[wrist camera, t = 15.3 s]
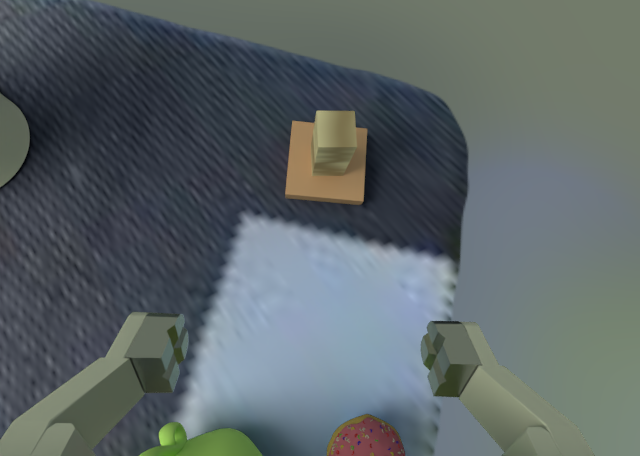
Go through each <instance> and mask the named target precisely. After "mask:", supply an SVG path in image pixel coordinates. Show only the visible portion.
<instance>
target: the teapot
mask: <svg viewBox="0 0 640 456" xmlns="http://www.w3.org/2000/svg"><path fill="white" fill-rule="evenodd" d="M159 440H160V443H161V446H158V447H154V448H151V449H149V450H147V451H145V452H143V453H142V454H140V455H139V456H263V455H262V454H261V453H260V451H259V450H258V448H257V447H256V446H255V445H254V443H253V442H252V441H251V440H250V439H249V438H248V437H247V436H246V435H245V434H243V433H242V432H240V431H238V430H235V429H231V428H224V429H218V430H215V431H211V432H208V433H205V434H202V435H200V436H197V437H194V438H192V439H189V440H187V436H186V432H185V430H184V428H183V426H182V425H181V424H180V423H178V422H172V423H168V424H166V425H165V426H164V427H162V429H161V430H160V432H159Z"/></svg>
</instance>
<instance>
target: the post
mask: <svg viewBox="0 0 640 456" xmlns="http://www.w3.org/2000/svg"><path fill="white" fill-rule="evenodd" d="M356 148H357V139H356V124H355V111H316V117H315V123H314V129H313V136H312V142H311V166H312V176H343V174H344V172H345V170H346V168H347V166H348V164H349V162H350V160H351V158H352V156H353V154H354V152H355V150H356Z"/></svg>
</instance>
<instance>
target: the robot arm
mask: <svg viewBox="0 0 640 456" xmlns="http://www.w3.org/2000/svg"><path fill="white" fill-rule="evenodd" d="M29 142H30V133H29V127H28V124H27V121H26V119H25V117H24V115H23V113H22V112H21V111H20V109H19V108H18V107H17V106H16V105H15V104H14V103H13V102H11V101H10V100H8V99H7V98H6V97H4V96H3V95H2V94H1V93H0V187H1V186H3V185H4V184H5V183H7V182H8V181H9V180H10V179H11V178H12V177H13V176H14V175H15V174H16V173H17V171H18V170H19V169H20V167H21V166H22V164H23V162H24V160H25V158H26V155H27V152H28V148H29ZM184 322H185V320H184V316H183V314H167V313H148V312H132V313H131V314H130V315H129V316H128V318H127V320H126V321H125V323H124V325H123V327H122V328H121V330H120V332H119V334H118V336H117V337H116V339H115V341H114V343H113V345H112V346H111V348H110V350H109V352H108V353H107V355H106V357H105V358H99V359H98V360H96V361H95V362H94V363H92V364H91V365H89V366H88V367H87V368H85V369H84V370H83V371H81V372H80V373H78V374H77V375H76V376H74V377H73V378H72V379H70V380H69V381H68V382H66V383H65V384H63V385H62V386H61V387H59V388H58V389H57V390H55V391H54V392H52V393H51V394H50V395H48V396H47V397H46V398H44V399H43V400H42V401H40V402H39V403H37V404H36V405H35V406H33V407H32V408H31V409H29V410H28V411H26V412H25V413H24V414H22V415H21V416H20V417H18V418H17V419H16V420H14V421H13V422H12V424H11V425H10V427H9V428H8V430H7V431H6V432H5V434H4V435H3V437H2V438H1V440H0V456H96V455H95V453H94V452H93V451H92V449H93V448H94V447H95V446H96V445H97V444H98V443H99V442H100V441H101V439H102V438H103V437H104V436H105V435H106V434H107V433H108V432H109V431H110V430H111V429H112V428H113V427H114V426H115V425H116V424H117V423H118V422H119V421H120V420H121V419H122V418H123V417H124V416H125V414H126V413H127V412H128V411H129V410H130V409H131V408H132V407H133V406H134V405H135V404H136V403H137V402H138V401H139V400H140V399H141V398H142V397H143V396H144V393H170V392H173V391H174V388H175V385H176V382H177V379H178V376H179V373H180V371H179V368H178V364H179V363H181V362H182V361H183V360H184V358H185V355H186V352H187V347H188V332H187V330H186V329H185V328H184V327H183V325H184ZM427 331H428V333H427V334H426V335H424V336H423V338H422V341H421V356H422V360H423V364H424V365H425V366H426V367H427V368H428V369H429V370H430V372H429V374H428V380H429V383H430V386H431V389H432V393H433V396H442V397H459V400H460V401H461V402H462V403H463V404H464V405H465V406H466V408H467V409H468V410H469V411H470V412H471V413H472V415H473V416H474V417H475V418H476V419H477V420H478V422H479V423H480V424H481V425H482V426H483V428H484V429H485V430H486V431H487V432H488V433H489V435H490V436H491V437H492V438H493V439H494V440H495V442H496V443H497V444H498V445H499V446H500V447H501V449H502V450H503V451H504V452H505V453H504V454H503V455H502V456H595V455H594V454H593V452H592V450H591V449H590V447H589V445H588V444H587V442H586V441H585V439H584V437H583V436H582V434H581V432H580V431H579V429H578V428H577V426H576V425H575V424H573V423H572V422H571V421H570V420H569V419H567V418H566V417H565V416H564V415H562V414H561V413H560V412H559V411H557V410H556V409H555V408H554V407H553V406H552V405H550V404H549V403H548V402H546V401H545V400H544V399H543V398H542V397H541V396H539V395H538V394H537V393H536V392H535V391H533V390H532V389H531V388H530V387H529V386H527V385H526V384H525V383H524V382H522V381H521V380H520V379H519V378H518V377H516V376H515V375H514V374H513V373H512V372H510V371H509V370H508V369H506V367H504V366H499V364H498V362H497V360H496V358H495V356H494V354H493V352H492V351H491V349H490V347H489V345H488V343H487V341H486V339H485V337H484V335H483V333H482V331H481V329H480V327H479V325H478V324H477V323H475V322H458V321H431V322H429V324H428V326H427Z"/></svg>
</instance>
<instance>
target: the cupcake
mask: <svg viewBox="0 0 640 456" xmlns="http://www.w3.org/2000/svg"><path fill="white" fill-rule="evenodd" d="M327 456H405V451H404V448H403V445H402V442H401V439H400V436H399V434H398V432H397V431H396V430H395V428H394V427H392V426H391V425H390V424H388V423H386V422H385V421H383V420H381V419H379V418H376V417H374V416H372V415H369V414H365V415H362V416H359V417H356V418H353V419H351V420H349V421H347V422H345V423H343V424H342V425H341V426H339V427H338V428H337V429H336V431H335V432H334V433H333V435H332V438H331V440H330V442H329V444H328V447H327Z"/></svg>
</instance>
